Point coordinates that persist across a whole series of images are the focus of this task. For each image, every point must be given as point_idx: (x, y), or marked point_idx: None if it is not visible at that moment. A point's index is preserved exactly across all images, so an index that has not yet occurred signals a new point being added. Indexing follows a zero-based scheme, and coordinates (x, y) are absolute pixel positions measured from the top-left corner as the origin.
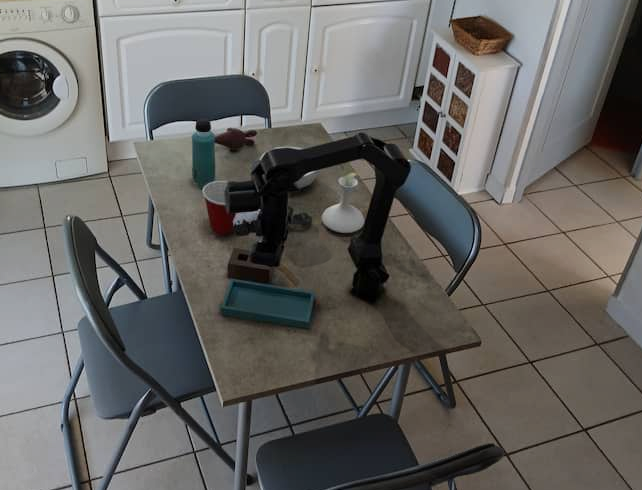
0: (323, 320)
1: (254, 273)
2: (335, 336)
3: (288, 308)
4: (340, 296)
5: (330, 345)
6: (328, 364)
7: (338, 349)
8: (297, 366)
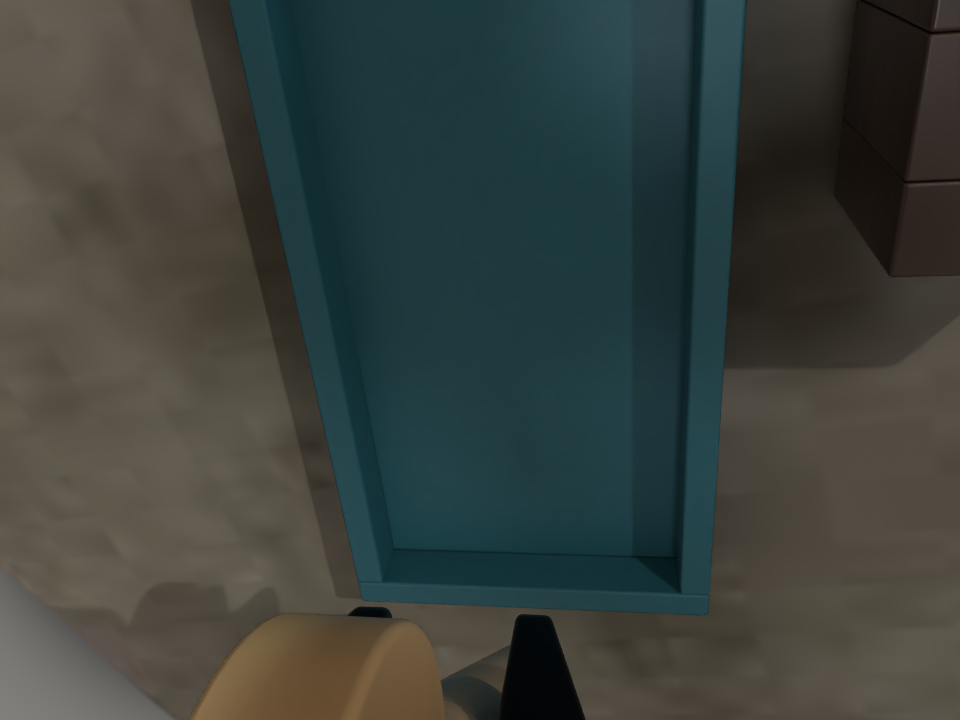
0: (492, 623)
1: (890, 47)
2: None
3: (513, 426)
4: (764, 697)
5: None
6: (160, 660)
7: None
8: (53, 528)
